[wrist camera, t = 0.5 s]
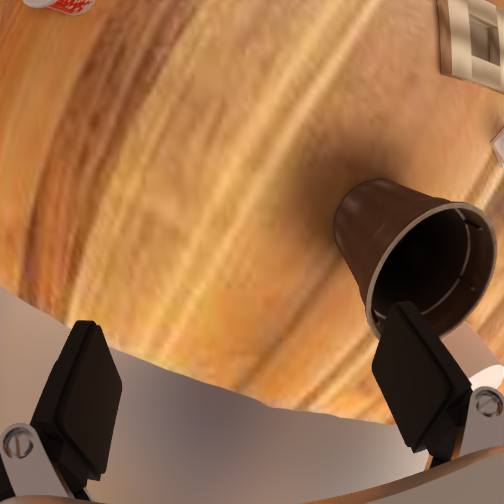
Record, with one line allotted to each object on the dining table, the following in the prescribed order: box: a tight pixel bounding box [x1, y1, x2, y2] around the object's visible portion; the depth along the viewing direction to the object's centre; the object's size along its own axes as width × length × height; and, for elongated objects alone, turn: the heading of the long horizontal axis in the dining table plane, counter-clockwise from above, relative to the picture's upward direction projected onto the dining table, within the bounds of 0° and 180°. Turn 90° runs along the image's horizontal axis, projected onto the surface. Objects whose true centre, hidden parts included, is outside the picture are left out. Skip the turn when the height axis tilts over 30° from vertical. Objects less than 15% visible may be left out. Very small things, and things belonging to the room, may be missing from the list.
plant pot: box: [334, 179, 497, 340], centre depth 34 cm, size 16×16×16 cm
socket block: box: [437, 0, 504, 94], centre depth 28 cm, size 14×14×2 cm
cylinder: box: [441, 321, 504, 391], centre depth 43 cm, size 17×17×28 cm
